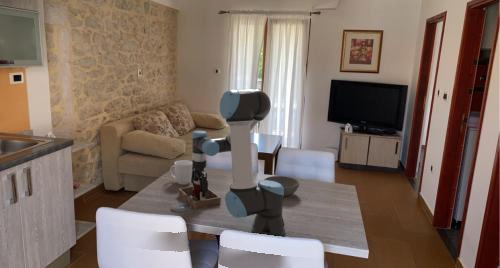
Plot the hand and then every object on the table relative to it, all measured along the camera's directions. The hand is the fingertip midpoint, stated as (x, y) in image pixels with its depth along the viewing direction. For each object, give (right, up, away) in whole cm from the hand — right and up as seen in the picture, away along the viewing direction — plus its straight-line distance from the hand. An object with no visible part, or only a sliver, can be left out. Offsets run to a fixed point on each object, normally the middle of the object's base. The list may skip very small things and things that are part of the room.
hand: (199, 199), depth 196 cm
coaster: (-8, -2, -12) cm, 14 cm away
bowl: (+45, +1, +13) cm, 47 cm away
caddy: (0, 0, 0) cm, 0 cm away
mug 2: (0, 0, 0) cm, 0 cm away
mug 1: (-14, +6, +25) cm, 29 cm away
